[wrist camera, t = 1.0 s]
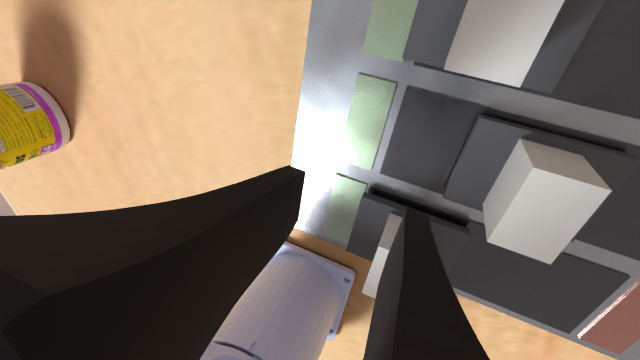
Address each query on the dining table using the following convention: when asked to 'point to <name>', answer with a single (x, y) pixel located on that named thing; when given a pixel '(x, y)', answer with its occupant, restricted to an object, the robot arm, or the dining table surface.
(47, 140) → the supplement bottle
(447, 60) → the block
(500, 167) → the breaker mid
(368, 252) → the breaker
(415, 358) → the robot arm
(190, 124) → the dining table surface
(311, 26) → the panel
